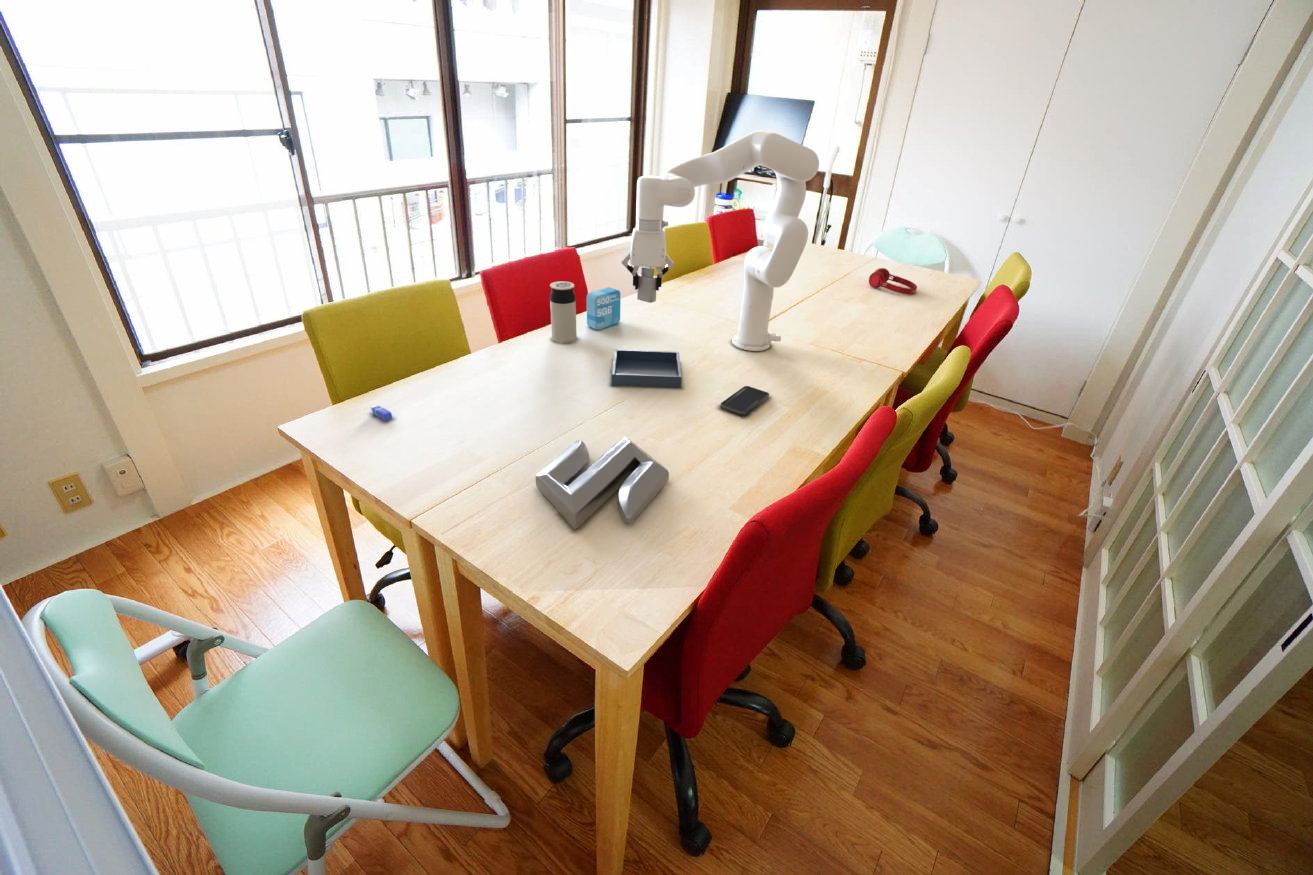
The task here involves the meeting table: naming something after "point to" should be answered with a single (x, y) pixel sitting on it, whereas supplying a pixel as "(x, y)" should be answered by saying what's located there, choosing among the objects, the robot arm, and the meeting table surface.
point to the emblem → (601, 481)
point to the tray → (646, 369)
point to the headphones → (883, 276)
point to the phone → (744, 401)
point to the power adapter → (647, 285)
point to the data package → (603, 308)
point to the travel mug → (563, 312)
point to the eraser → (381, 412)
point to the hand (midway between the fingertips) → (646, 288)
